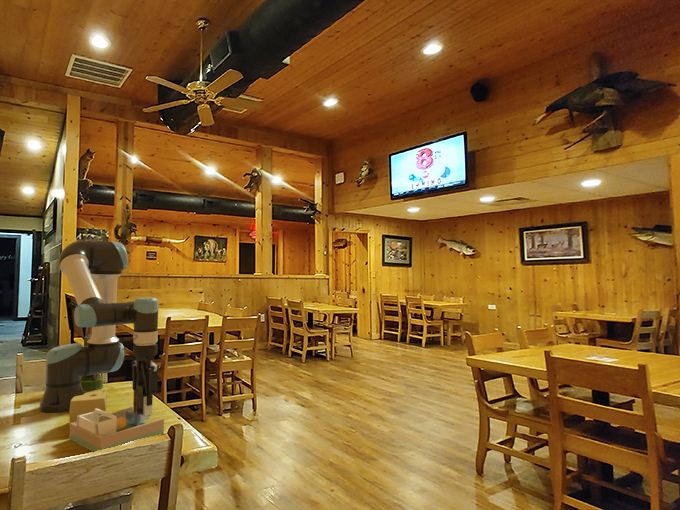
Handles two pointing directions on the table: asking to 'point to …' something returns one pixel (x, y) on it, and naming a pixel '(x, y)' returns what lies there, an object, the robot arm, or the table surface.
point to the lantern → (91, 380)
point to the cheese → (87, 404)
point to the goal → (97, 422)
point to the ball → (121, 423)
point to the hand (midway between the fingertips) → (144, 413)
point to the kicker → (137, 417)
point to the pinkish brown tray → (118, 438)
